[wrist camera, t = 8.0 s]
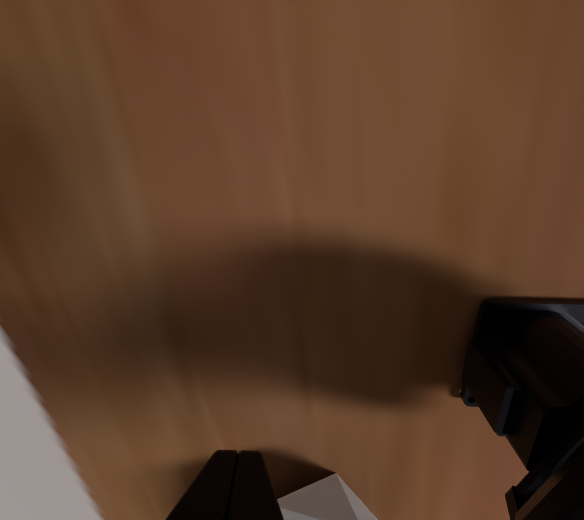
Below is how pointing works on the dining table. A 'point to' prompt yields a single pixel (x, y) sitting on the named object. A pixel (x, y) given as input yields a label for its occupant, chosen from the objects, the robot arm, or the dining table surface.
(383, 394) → the dining table surface
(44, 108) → the dining table surface
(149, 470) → the dining table surface
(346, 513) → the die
